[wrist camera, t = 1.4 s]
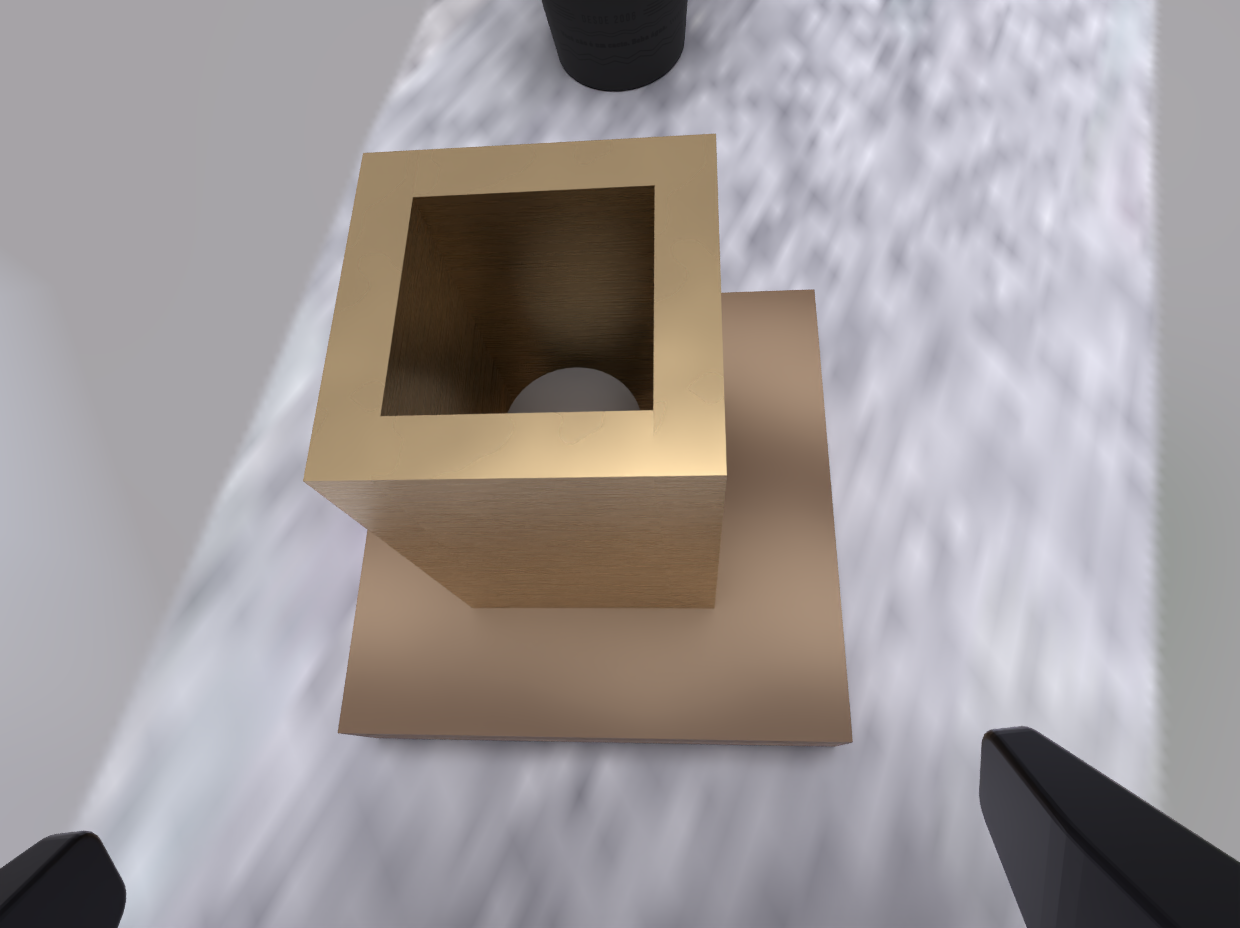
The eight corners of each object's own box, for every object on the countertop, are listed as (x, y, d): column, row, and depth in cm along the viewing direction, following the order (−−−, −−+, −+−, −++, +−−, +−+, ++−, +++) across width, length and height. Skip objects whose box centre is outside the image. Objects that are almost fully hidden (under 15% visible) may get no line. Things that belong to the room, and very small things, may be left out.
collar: (714, 608, 19) (727, 475, 11) (471, 608, 19) (303, 480, 11) (709, 387, 21) (715, 133, 13) (491, 392, 22) (362, 153, 13)
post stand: (834, 746, 20) (893, 732, 14) (377, 738, 21) (248, 722, 15) (803, 336, 24) (837, 190, 18) (427, 347, 25) (343, 213, 19)
